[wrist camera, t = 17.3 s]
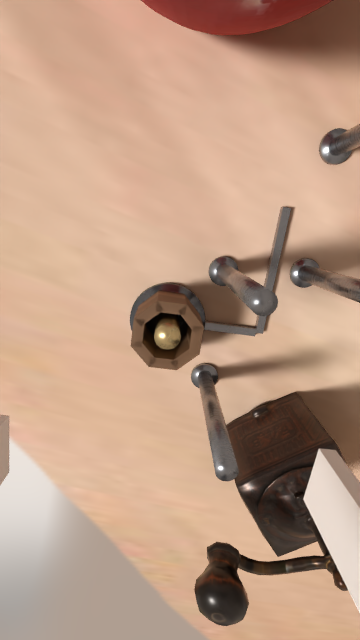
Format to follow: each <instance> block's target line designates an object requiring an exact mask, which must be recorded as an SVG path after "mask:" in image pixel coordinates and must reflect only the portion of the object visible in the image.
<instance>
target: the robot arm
mask: <svg viewBox="0 0 360 640" xmlns="http://www.w3.org/2000/svg"><path fill="white" fill-rule="evenodd" d="M8 473H9V416H6V415H0V485H1V483H2V482H3V480H4V479H5V477H6V476H7V474H8ZM303 500H304V502H305V504H306V506H307V508H308V510H309V512H310V514H311V516H312V518H313V520H314V522H315V524H316V526H317V528H318V530H319V532H320V534H321V536H322V538H323V540H324V542H325V544H326V546H327V548H328V550H329V552H330V554H331V556H332V558H333V560H334V562H335V564H336V566H337V568H338V570H339V572H340V574H341V576H342V578H343V580H344V582H345V584H346V586H347V589H348V591H349V593H350V595H351V597H352V599H353V601H354V603H355V605H356V607H357V609H358V611H359V613H360V482H359V480H358V479H357V478H356V476H355V475H354V474H353V472H352V471H351V470H350V468H349V467H348V466H347V464H346V463H345V462H344V461H343V459H342V458H341V457H340V455H339V454H338V453H337V451H336V450H330V449H320V448H319V450H318V453H317V456H316V459H315V463H314V466H313V469H312V472H311V476H310V479H309V482H308V485H307V489H306V492H305V495H304V499H303Z"/></svg>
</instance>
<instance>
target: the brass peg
mask: <svg viewBox="0 0 360 640" xmlns="http://www.w3.org/2000/svg"><path fill="white" fill-rule="evenodd" d="M159 290H160V291H168V292H175V293H183V294H185V295H186V297H187V298H188V299H189V301H190V302H191V303H192V305H193V306H194V307H195V309H196V310H197V311H198V312H199V314H200V317H201V320H202V323H203V326H204V327H205V313H204V309H203V307H202V304H201V302H200V301H199V299H198V298H197V296H196V295H195V294H194V293H193V292H192V291H190V290H189V289H187V288H185V287H183V286H181V285H178V284H174V283H162V284H157V285H154V286H152V287H150V288H148V289H146V290H145V291H144V292H143V293H141V294H140V296H139V297H138V298H137V299H136V301H135V303H134V305H133V307H132V310H131V315H130V325H131V330H133V321H134V316H135V314H136V311H137V309H138V306H139V305H140V304H141V303H143V302H144V301H145V300H147V299H148V298H149V297H151V296H152V295H153V294H155V293H156V292H157V291H159ZM146 327H147V329H148V330H149V331H150V332H151V333H152V335H153V336H154V339H155V342H156V344H157V345H158V346H159V347H160V348H162V349H172V348H174V347H176V346H177V345H178V344H179V342H180V339H181V336H182V335H183V334H185V333H186V332H187V327H188V324H187V322H186V321H185V320H184V319H183V317H182V316H181V315H178V314H171V313H163V312H160V313H159V314H157V315H156V316H154V317H153V318H152V319H150V320H149V321H148V322H147V323H146ZM203 331H204V330H203Z"/></svg>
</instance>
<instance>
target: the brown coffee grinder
mask: <svg viewBox="0 0 360 640" xmlns="http://www.w3.org/2000/svg"><path fill="white" fill-rule="evenodd" d="M226 427H227V431H228V434H229V438H230V441H231V445H232V448H233V452H234V455H235V459H236V462H237V466H238V469H239V472H238V475H237V477H236V478H234V479H235V483H236V486H237V488H238V491H239V493H240V496H241V498H242V500H243V501H244V503H245V505H246V507H247V508H248V510H249V512H250V513H251V515H252V517H253V518H254V520H255V522H256V524H257V525H258V527H259V529H260V531H261V533H262V535H263V536H264V537H265V539H266V540H267V541H268V543H269V544H270V546H271V547H272V549H273V550H274V552H275V553H276V555H277V556H278V557H279V556H281V555H284V554H287V553H289V552H292V551H294V550H297V549H299V548H302V547H304V546H307V545H309V544H311V543H314V542H316V541H318V543H319V546H320V548H321V550H322V552H323V554H324V556H306V557H298V558H292V559H288V560H280V561H271V562H264V561H256V560H253V559H250V558H247V557H245V556H243V555H241V554H239V551H238V550H237V549H236V548H234V547H233V546H231V545H230V544H227V543H221V542H216V543H214V544H212V545H211V546H209V547H207V559H208V560H209V565H208V566H207V568H206V569H205V571H204V572H203V573H202V574H201V575H200V576H199V577H198V578H197V580H196V584H195V595H196V600H197V604H198V607H199V611H200V612H201V613H202V614H203V615H204V616H205V617H206V618H207V619H209V620H211V621H212V622H214V623H216V624H218V625H222V626H228V625H232V624H236V623H238V622H240V621H241V620H243V618H244V616H245V614H246V611H247V608H248V605H249V602H248V597H247V593H246V591H245V589H244V587H243V585H242V582H241V580H240V579H239V576H238V574H237V569H238V568H240V569H242V570H244V571H246V572H250V573H253V574H257V575H279V574H288V573H295V572H302V571H309V570H316V569H327V570H328V571H329V572H330V573H331V574H333V579H334V583H335V586H337V587H338V588H339V589H341V590H342V591H347V590H348V589H347V586H346V584H345V582H344V580H343V578H342V576H341V574H340V572H339V570H338V568H337V566H336V564H335V562H334V560H333V558H332V556H331V554H330V552H329V550H328V548H327V546H326V544H325V542H324V540H323V538H322V536H321V534H320V532H319V530H318V528H317V526H316V524H315V522H314V520H313V518H312V516H311V514H310V512H309V510H308V508H307V506H306V504H305V502H304V500H303V499H304V495H305V492H306V489H307V485H308V482H309V479H310V476H311V472H312V469H313V466H314V463H315V459H316V456H317V453H318V450H319V448H320V449H330V450H336V451H337V453H338V454H339V455H340V457H341V458H342V459H343V461H344V462H345V463H346V461H345V459H344V457H343V455H342V453H341V451H340V449H339V447H338V446H337V444H336V443H335V442H334V440H333V439H332V438H331V437H330V436H329V435H328V433H327V432H326V431H325V429H324V428H323V427H322V425H321V424H320V423H319V422H318V420H317V419H316V418H315V416H314V415H313V414H312V413H311V411H310V410H309V409H308V408H307V406H306V405H305V404H304V402H303V400H302V398H301V397H300V396H299V395H298V394H297V393H296V392H295V393H293V394H290V395H288V396H285V397H283V398H280V399H278V400H275V401H273V402H270V403H267V404H265V405H262V406H260V407H257V408H255V409H253V410H251V411H250V412H249V413H247V414H245V415H243V416H242V417H240V418H238V419H236V420H234V421H232V422H231V423H229V424H228V425H227V426H226Z"/></svg>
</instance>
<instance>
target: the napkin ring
mask: <svg viewBox="0 0 360 640" xmlns="http://www.w3.org/2000/svg"><path fill="white" fill-rule="evenodd" d="M160 312H163V313H171V314H178V315H181V316H182V317H183V319H184V320H185V321H186V322H187V324H188V327H187V332H186V333H185V334H183V335H182V336H181V339H180V342H179V344H178V345H177V346H176V347H174V348H172V349H162V348H160V347H159V346H158V345H157V344H156V342H155V339H154V336H153V335H152V333H151V332H150V331H149V330H148V329H147V327H146V323H147V322H148V321H149V320H150V319H152V318H153V317H154V316H156V315H157V314H159V313H160ZM203 330H204V326H203V323H202V320H201V317H200V314H199V312H198V311H197V310H196V309H195V307H194V306H193V305H192V303H191V302H190V301H189V299H188V298H187V297H186V295H185V294H183V293H175V292H168V291H160V290H159V291H157V292H156V293H155V294H153V295H152V296H151V297H149V298H148V299H147V300H145V301H144V302H143V303H141V304H140V305H139V306H138V309H137V311H136V314H135V316H134V321H133V330H132V339H131V347H132V348H133V349H134V350H135V351H136V352H137V354H138V355H139V356H140V357H141V358H142V359H143V361H144V362H145V363H146V364H147V365H148V366H149V367H155V368H163V369H172V370H178V369H179V368H180V367H182V366H183V365H185V364H186V363H187V362H189V361H190V360H192V359H193V358H195V357H196V356H197V355H199V354H200V348H201V342H202V336H203Z"/></svg>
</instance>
